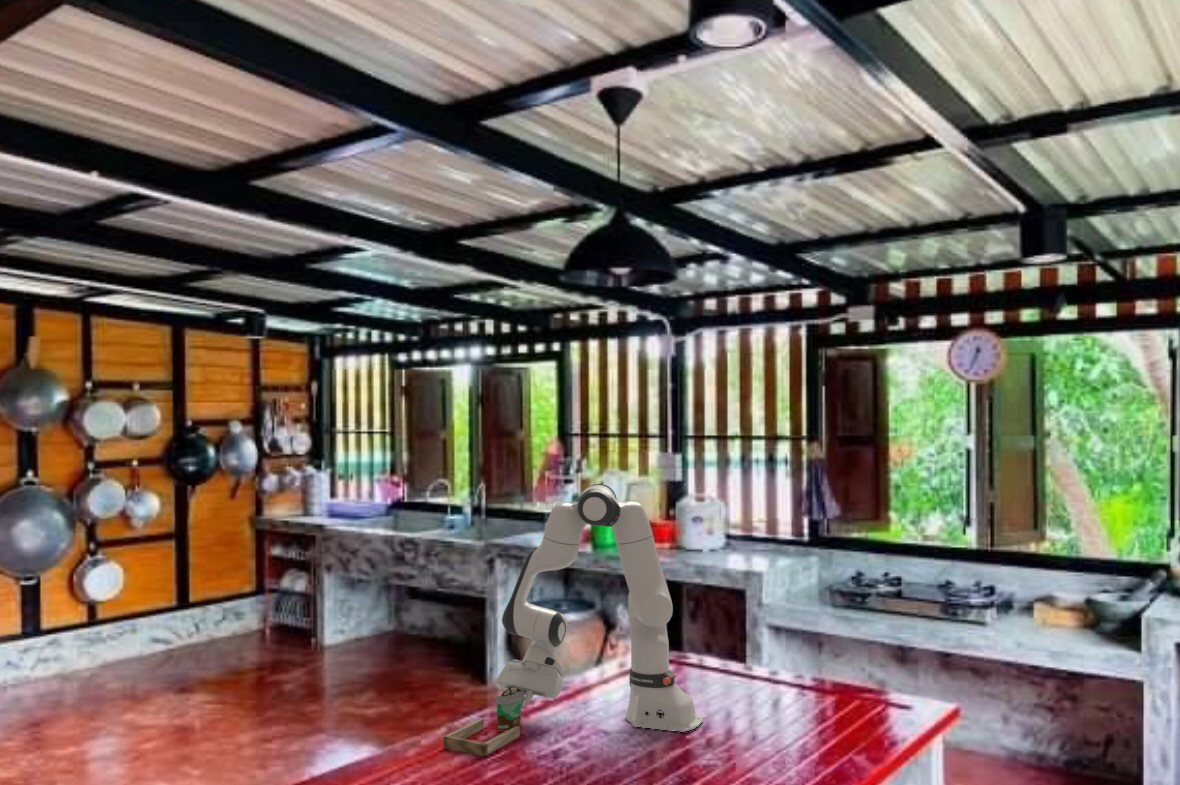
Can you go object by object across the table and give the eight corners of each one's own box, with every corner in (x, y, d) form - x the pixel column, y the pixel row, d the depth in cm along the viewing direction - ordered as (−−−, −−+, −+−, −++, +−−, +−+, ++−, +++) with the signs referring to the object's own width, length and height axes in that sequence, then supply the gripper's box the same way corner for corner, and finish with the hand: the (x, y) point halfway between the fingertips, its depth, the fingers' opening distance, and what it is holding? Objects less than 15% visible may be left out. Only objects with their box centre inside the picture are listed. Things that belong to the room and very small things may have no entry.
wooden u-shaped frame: (519, 737, 249) (519, 726, 249) (484, 757, 235) (484, 745, 235) (479, 729, 255) (479, 718, 256) (443, 747, 241) (443, 736, 241)
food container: (517, 734, 251) (517, 698, 252) (496, 733, 253) (496, 696, 253) (529, 720, 264) (529, 685, 264) (508, 718, 265) (508, 684, 265)
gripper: (504, 652, 273) (485, 694, 264) (562, 662, 263) (544, 705, 254) (512, 664, 277) (493, 705, 268) (570, 673, 267) (552, 717, 258)
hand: (519, 705), depth 261 cm, fingers closed
